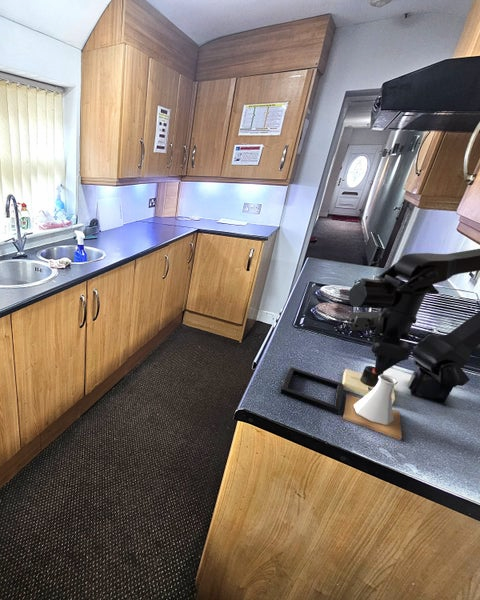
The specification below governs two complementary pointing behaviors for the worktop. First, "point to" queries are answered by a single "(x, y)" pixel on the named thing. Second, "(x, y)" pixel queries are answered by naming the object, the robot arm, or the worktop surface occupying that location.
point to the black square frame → (311, 400)
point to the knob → (370, 376)
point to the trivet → (390, 429)
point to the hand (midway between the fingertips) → (377, 364)
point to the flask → (378, 401)
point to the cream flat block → (357, 384)
